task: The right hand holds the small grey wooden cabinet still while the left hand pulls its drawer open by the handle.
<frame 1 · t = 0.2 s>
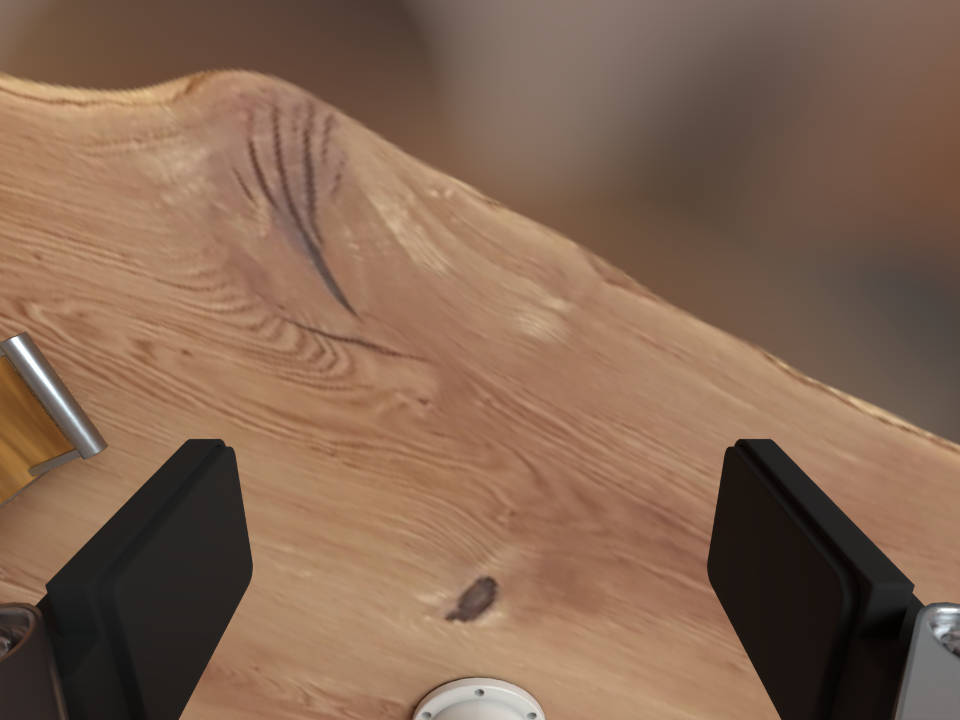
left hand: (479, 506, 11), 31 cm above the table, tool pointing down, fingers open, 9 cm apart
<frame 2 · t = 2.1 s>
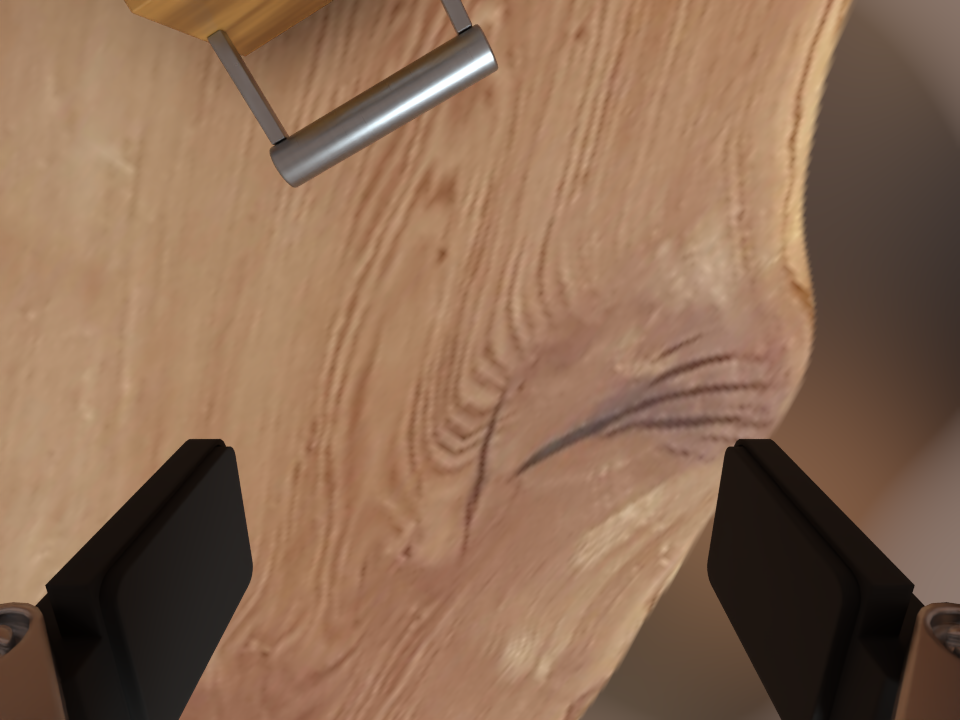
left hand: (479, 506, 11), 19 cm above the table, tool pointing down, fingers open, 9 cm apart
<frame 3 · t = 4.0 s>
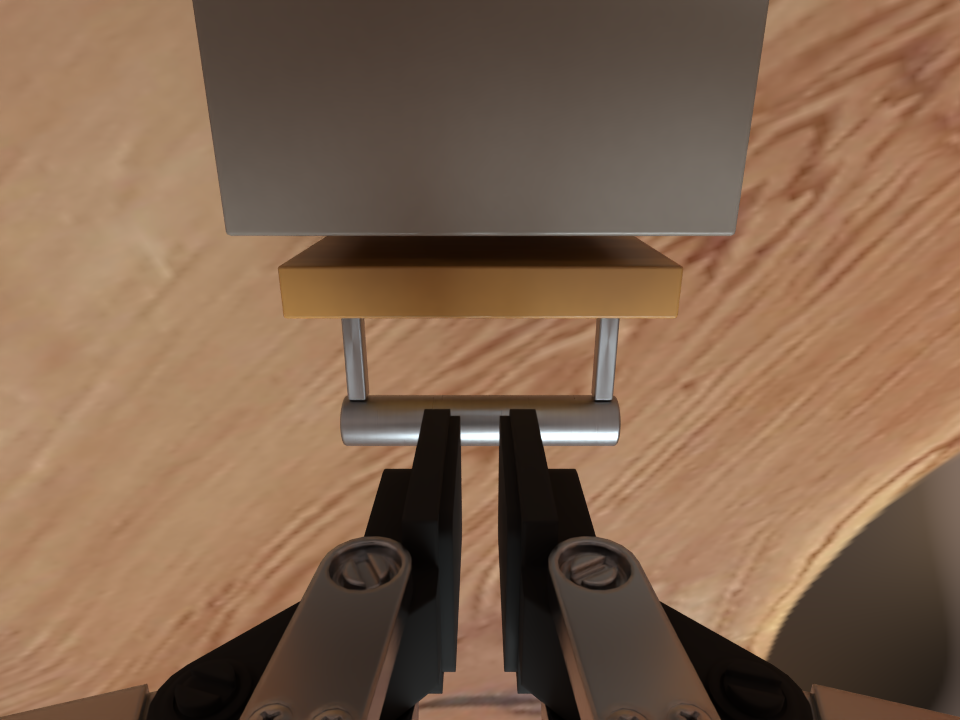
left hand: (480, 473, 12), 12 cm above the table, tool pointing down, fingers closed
drawer: (480, 26, 15), point 5 cm above the table, slide at 0.8 cm
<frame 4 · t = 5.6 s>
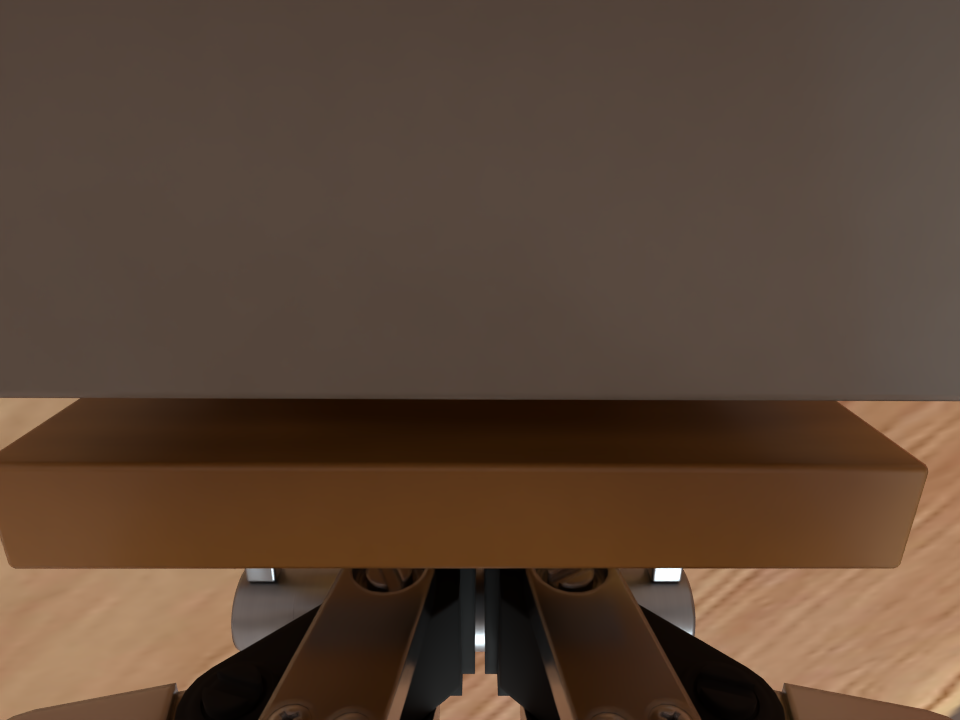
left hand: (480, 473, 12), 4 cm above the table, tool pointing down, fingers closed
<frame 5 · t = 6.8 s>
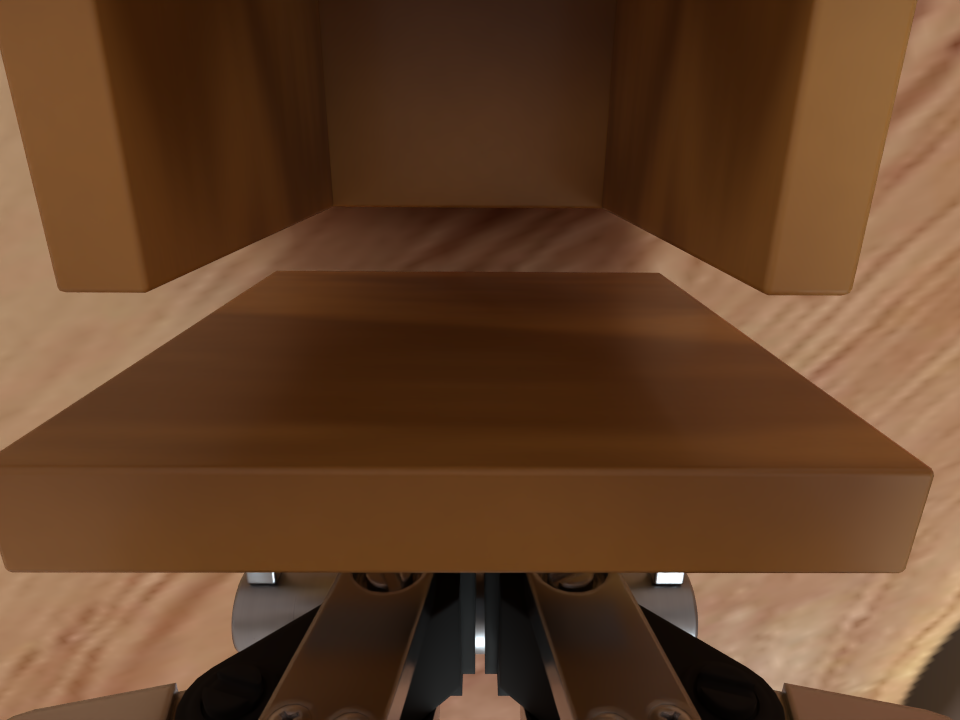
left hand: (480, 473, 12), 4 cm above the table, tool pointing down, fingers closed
when the right hand's fingers open (6 cm above the table, at t = 8.5 s): cabinet stays where it is, on the table.
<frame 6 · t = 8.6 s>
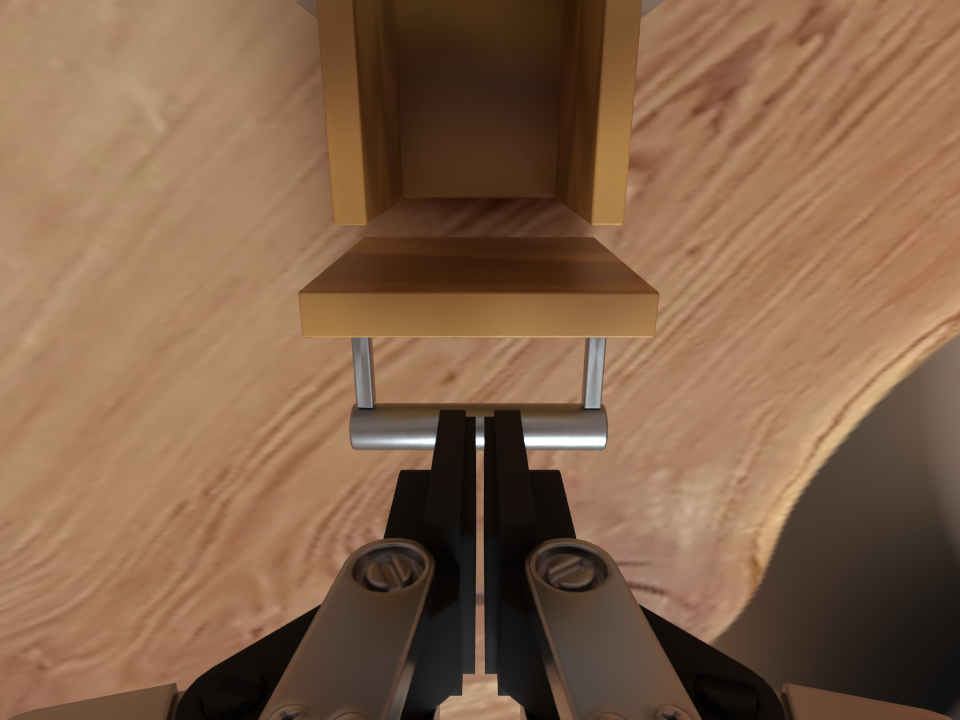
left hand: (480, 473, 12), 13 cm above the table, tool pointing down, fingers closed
drawer: (479, 71, 17), point 5 cm above the table, slide at 7.0 cm
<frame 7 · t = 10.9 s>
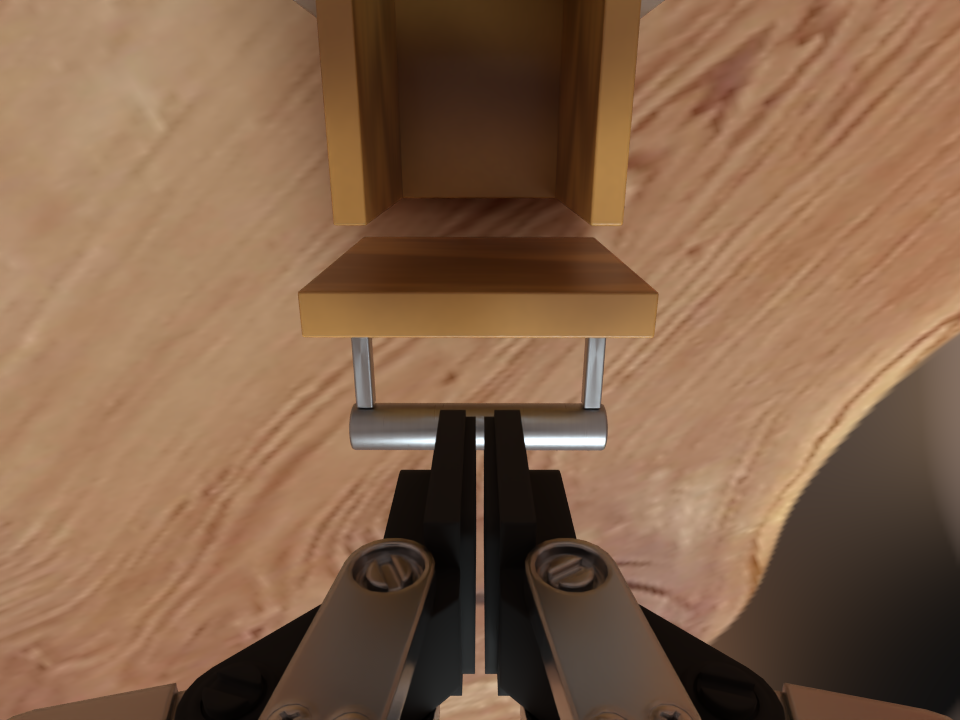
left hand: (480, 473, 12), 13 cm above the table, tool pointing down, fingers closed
drawer: (478, 71, 17), point 5 cm above the table, slide at 7.0 cm
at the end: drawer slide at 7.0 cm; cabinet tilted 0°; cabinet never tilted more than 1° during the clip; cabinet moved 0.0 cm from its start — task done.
